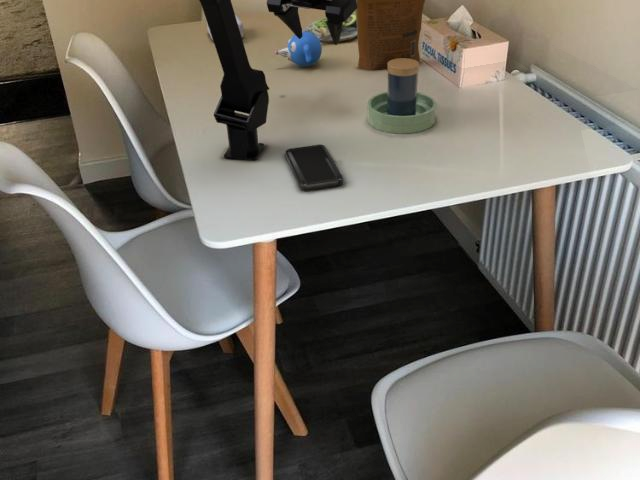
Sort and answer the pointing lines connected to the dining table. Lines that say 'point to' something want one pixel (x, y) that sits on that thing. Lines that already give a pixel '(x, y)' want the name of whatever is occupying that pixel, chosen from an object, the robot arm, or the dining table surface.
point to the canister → (402, 86)
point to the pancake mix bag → (387, 31)
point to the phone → (313, 167)
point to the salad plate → (324, 35)
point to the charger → (238, 26)
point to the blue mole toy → (303, 50)
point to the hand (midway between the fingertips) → (318, 40)
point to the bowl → (401, 123)
